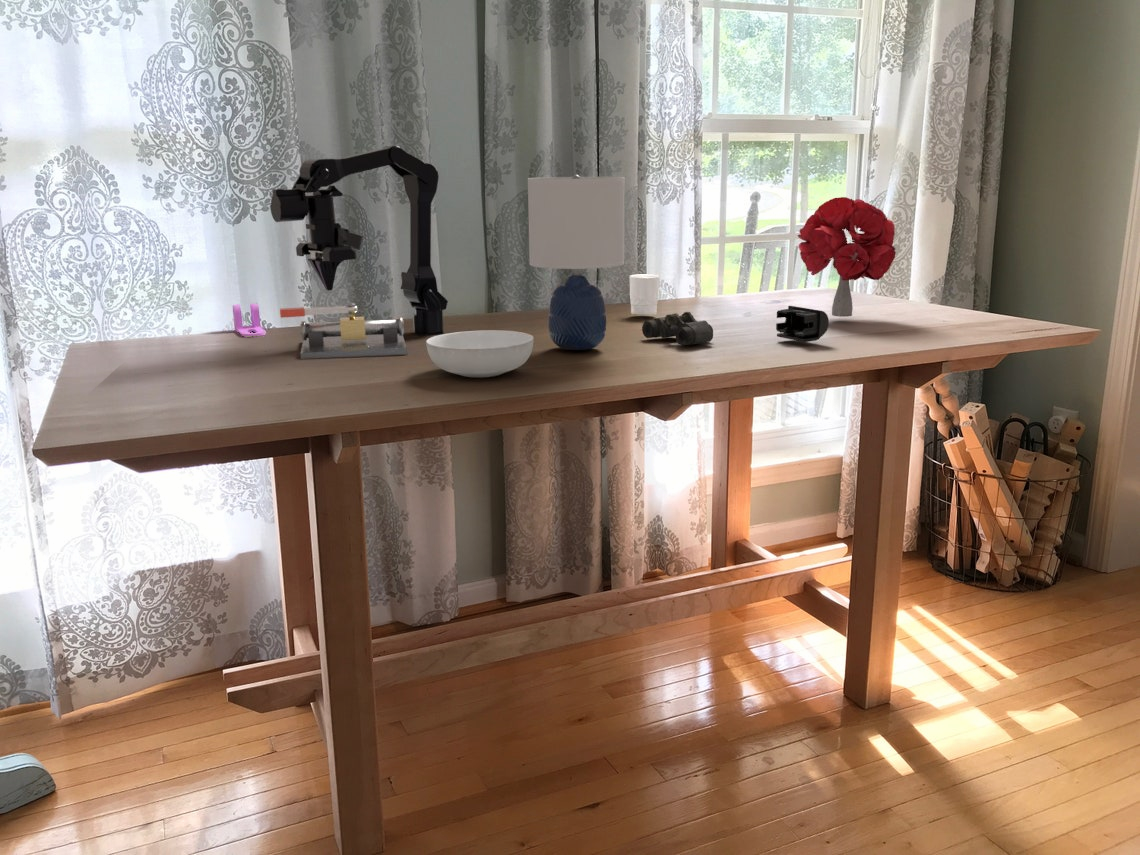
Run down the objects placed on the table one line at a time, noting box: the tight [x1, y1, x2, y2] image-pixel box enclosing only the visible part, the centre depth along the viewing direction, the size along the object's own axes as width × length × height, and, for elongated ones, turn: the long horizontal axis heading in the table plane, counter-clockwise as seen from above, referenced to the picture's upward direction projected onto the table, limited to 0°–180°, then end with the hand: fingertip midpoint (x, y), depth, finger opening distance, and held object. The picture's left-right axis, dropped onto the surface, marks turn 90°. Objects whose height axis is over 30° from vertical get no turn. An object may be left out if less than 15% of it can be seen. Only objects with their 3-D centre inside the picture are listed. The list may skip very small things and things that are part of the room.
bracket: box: [232, 302, 267, 336], centre depth 232 cm, size 13×6×7 cm, turn 27°
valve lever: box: [279, 302, 359, 319], centre depth 210 cm, size 16×3×2 cm, turn 108°
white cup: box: [629, 273, 660, 316], centre depth 257 cm, size 8×8×10 cm
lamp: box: [527, 174, 626, 351], centre depth 208 cm, size 20×20×37 cm
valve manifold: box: [300, 312, 408, 360], centre depth 213 cm, size 22×20×8 cm
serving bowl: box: [425, 329, 535, 378], centre depth 188 cm, size 21×21×7 cm
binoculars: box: [641, 311, 714, 347], centre depth 222 cm, size 11×16×6 cm
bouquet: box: [797, 196, 897, 318], centre depth 248 cm, size 22×24×30 cm
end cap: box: [775, 305, 830, 343], centre depth 221 cm, size 10×7×7 cm
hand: (329, 290), depth 215 cm, fingers closed
